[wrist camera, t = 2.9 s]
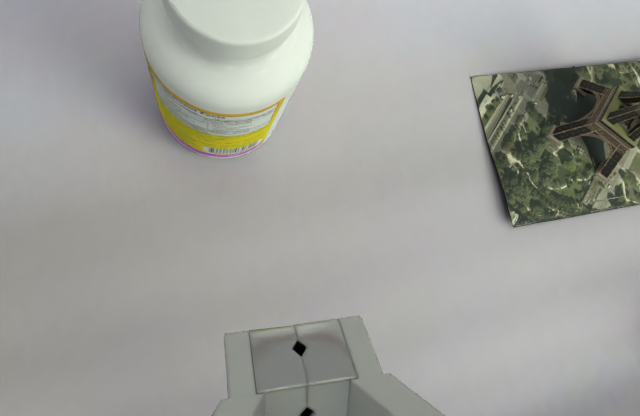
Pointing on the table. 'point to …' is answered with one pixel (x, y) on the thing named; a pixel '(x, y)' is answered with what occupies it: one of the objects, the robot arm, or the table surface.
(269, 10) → the supplement bottle
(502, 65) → the table surface
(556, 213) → the eiffel tower figurine
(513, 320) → the table surface
